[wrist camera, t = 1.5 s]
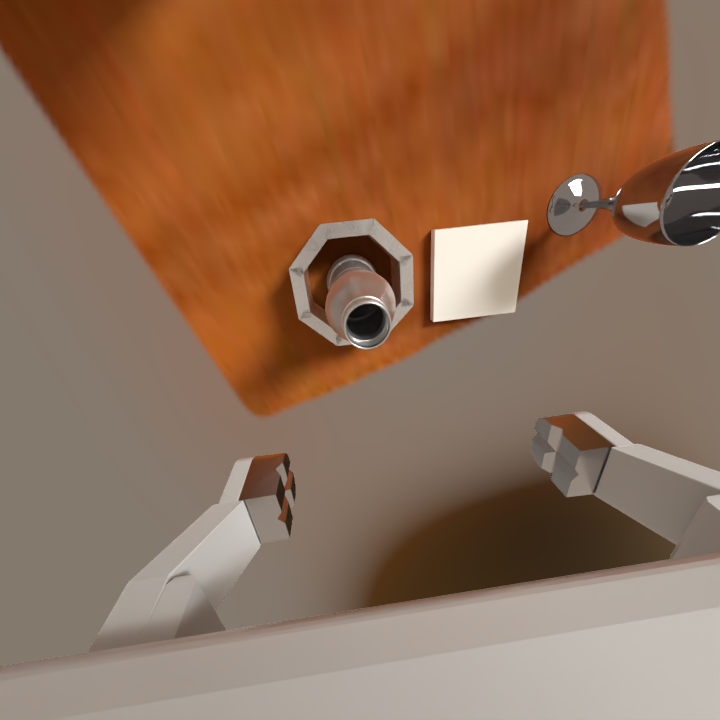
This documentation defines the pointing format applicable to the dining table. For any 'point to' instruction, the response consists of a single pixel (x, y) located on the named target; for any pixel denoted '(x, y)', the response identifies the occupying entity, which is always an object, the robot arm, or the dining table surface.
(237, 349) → the dining table surface
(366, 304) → the plastic bottle
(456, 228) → the ceramic pad
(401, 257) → the steel collar
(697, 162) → the wine glass
